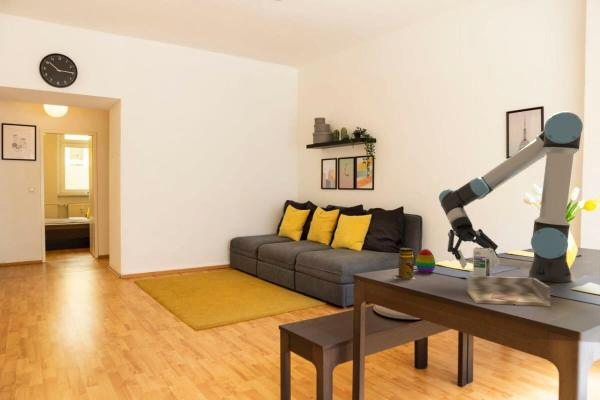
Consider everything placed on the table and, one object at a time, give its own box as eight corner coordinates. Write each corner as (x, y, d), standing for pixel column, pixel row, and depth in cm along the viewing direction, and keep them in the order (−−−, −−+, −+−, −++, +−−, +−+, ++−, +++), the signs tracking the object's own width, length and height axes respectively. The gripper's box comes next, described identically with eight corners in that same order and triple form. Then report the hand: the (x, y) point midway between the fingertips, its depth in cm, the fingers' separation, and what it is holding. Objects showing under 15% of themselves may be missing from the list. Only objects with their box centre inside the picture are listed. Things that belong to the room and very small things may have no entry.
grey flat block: (534, 295, 154) (535, 277, 153) (549, 306, 140) (550, 287, 140) (467, 292, 158) (467, 275, 157) (475, 302, 144) (476, 284, 144)
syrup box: (472, 287, 165) (472, 248, 165) (476, 284, 170) (476, 246, 170) (488, 289, 162) (489, 249, 162) (492, 286, 167) (492, 247, 167)
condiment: (415, 279, 179) (416, 249, 179) (394, 279, 180) (394, 249, 179) (412, 275, 186) (412, 247, 186) (392, 275, 187) (392, 247, 187)
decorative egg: (428, 269, 200) (428, 247, 200) (439, 272, 192) (439, 249, 192) (412, 270, 198) (412, 248, 197) (422, 274, 190) (423, 250, 189)
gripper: (483, 227, 185) (506, 269, 171) (428, 228, 180) (446, 272, 166) (491, 215, 180) (515, 258, 166) (434, 216, 175) (454, 260, 161)
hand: (481, 265), depth 166 cm, fingers open, 13 cm apart
